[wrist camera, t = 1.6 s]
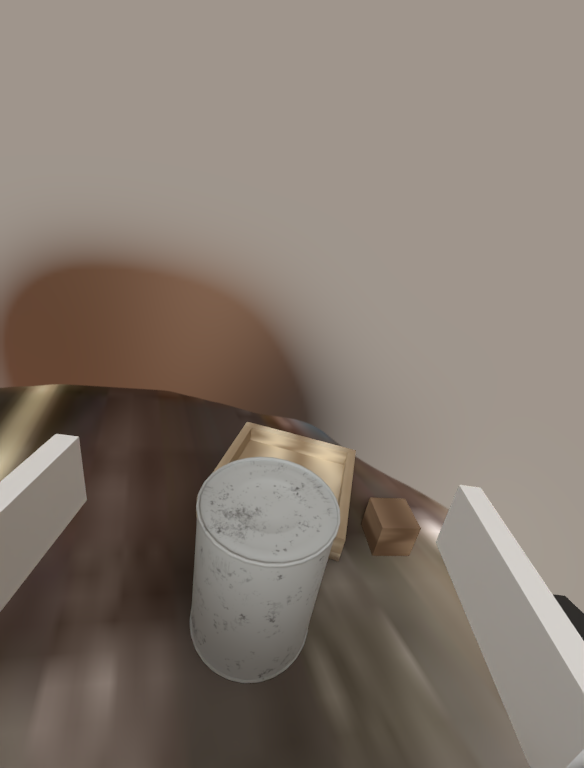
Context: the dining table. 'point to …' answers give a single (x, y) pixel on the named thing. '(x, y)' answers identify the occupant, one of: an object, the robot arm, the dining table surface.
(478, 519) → the robot arm
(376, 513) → the walnut block
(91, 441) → the dining table surface
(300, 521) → the speckled tin can
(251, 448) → the oak tray
